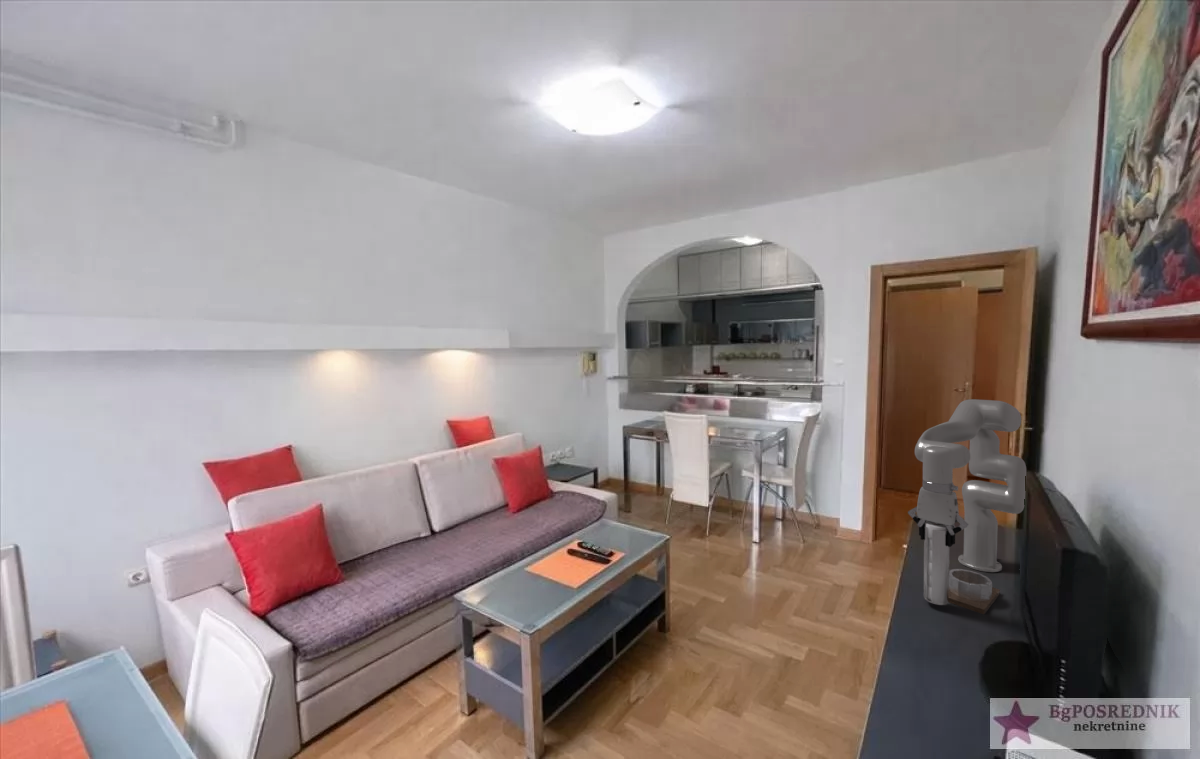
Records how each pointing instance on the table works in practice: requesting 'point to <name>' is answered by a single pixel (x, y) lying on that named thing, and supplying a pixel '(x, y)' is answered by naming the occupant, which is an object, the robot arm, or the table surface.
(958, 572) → the duct collar
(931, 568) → the silver long cylinder
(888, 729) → the table surface
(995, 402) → the robot arm
